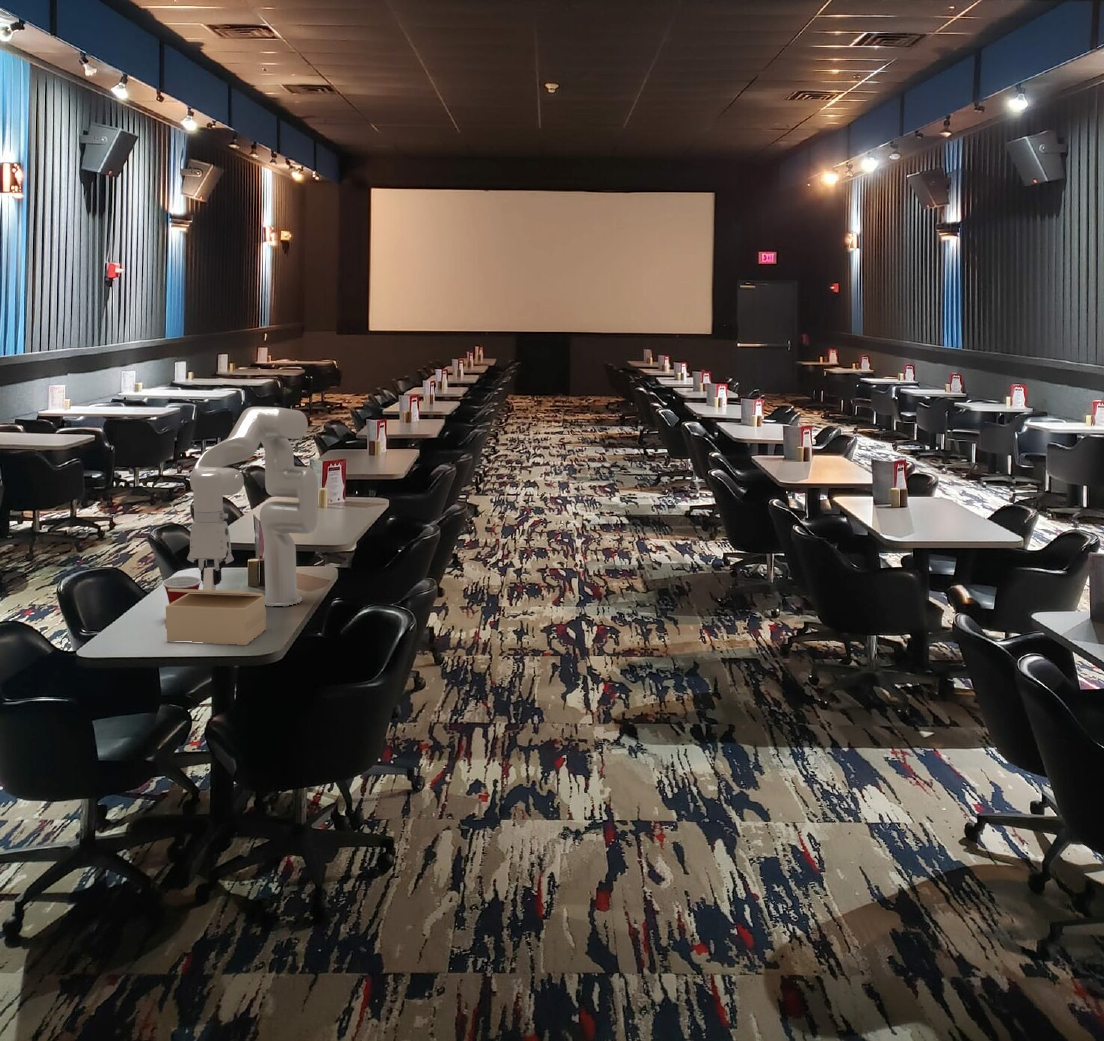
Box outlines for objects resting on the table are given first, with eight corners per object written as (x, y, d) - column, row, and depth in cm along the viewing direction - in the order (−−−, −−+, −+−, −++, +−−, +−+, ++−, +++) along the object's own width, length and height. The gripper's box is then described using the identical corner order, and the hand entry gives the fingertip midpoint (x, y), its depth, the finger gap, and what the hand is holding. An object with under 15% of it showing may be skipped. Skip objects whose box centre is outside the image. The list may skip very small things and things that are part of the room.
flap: (189, 592, 332) (191, 569, 333) (262, 595, 330) (263, 571, 331) (167, 591, 317) (169, 566, 318) (244, 593, 315) (245, 569, 316)
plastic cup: (161, 625, 335) (159, 584, 333) (166, 616, 346) (164, 576, 344) (201, 624, 338) (199, 583, 336) (204, 615, 348) (203, 575, 346)
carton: (189, 627, 334) (188, 592, 333) (266, 629, 332) (265, 595, 331) (166, 642, 319) (164, 606, 317) (246, 645, 317) (245, 609, 315)
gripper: (242, 515, 320) (245, 581, 323) (185, 514, 321) (188, 579, 324) (232, 520, 312) (235, 587, 316) (174, 518, 314) (177, 586, 317)
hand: (211, 583), depth 320 cm, fingers closed on flap, 2 cm apart
